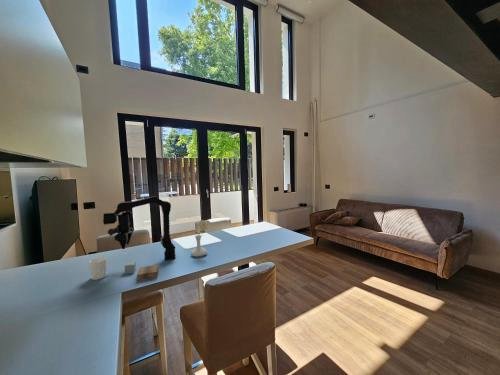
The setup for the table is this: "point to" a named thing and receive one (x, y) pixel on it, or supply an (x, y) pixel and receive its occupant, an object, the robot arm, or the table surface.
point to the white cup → (98, 268)
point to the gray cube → (130, 267)
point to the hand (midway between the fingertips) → (125, 246)
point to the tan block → (147, 272)
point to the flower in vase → (199, 250)
